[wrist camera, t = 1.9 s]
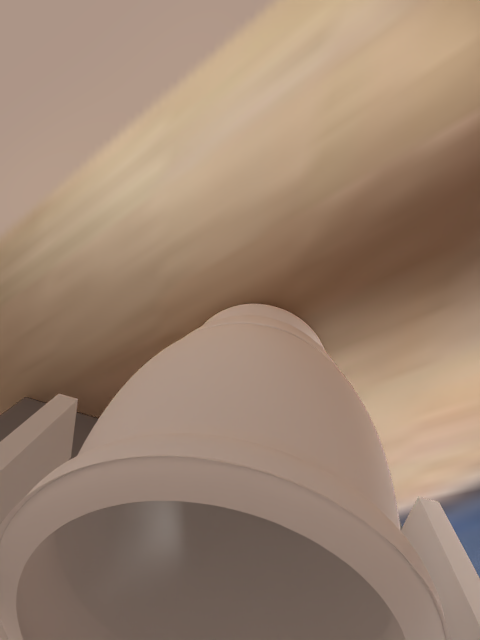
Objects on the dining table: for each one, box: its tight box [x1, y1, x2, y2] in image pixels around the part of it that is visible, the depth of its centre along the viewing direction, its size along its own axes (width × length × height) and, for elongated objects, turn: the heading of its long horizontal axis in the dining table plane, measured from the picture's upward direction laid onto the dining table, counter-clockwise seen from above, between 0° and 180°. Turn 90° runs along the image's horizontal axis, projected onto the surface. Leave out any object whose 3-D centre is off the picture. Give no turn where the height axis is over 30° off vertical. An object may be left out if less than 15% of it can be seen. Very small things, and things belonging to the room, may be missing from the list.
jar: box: [0, 304, 450, 640], centre depth 15 cm, size 11×10×15 cm
